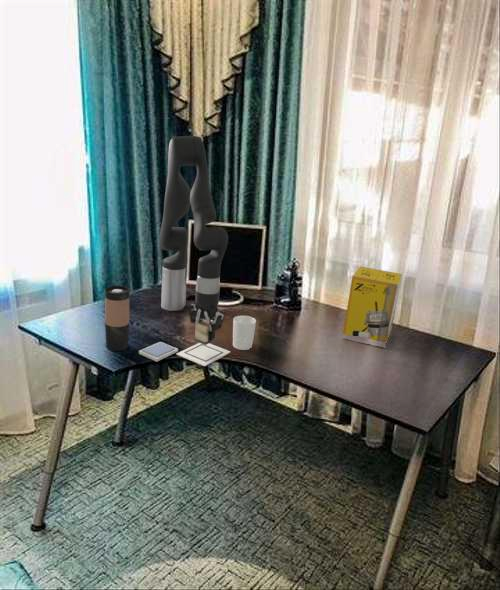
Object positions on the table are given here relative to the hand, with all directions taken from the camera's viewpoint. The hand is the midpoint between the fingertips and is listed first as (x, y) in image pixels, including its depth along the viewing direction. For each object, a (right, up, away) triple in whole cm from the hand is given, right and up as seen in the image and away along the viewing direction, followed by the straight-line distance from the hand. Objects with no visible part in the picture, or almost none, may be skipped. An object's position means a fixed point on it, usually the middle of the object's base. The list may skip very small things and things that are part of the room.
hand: (204, 338), depth 161 cm
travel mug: (-29, -3, +1) cm, 29 cm away
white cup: (+12, -4, +10) cm, 16 cm away
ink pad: (-15, -5, 0) cm, 16 cm away
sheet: (0, -5, +2) cm, 6 cm away
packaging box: (+60, -2, +29) cm, 67 cm away
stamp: (0, -1, 0) cm, 1 cm away
